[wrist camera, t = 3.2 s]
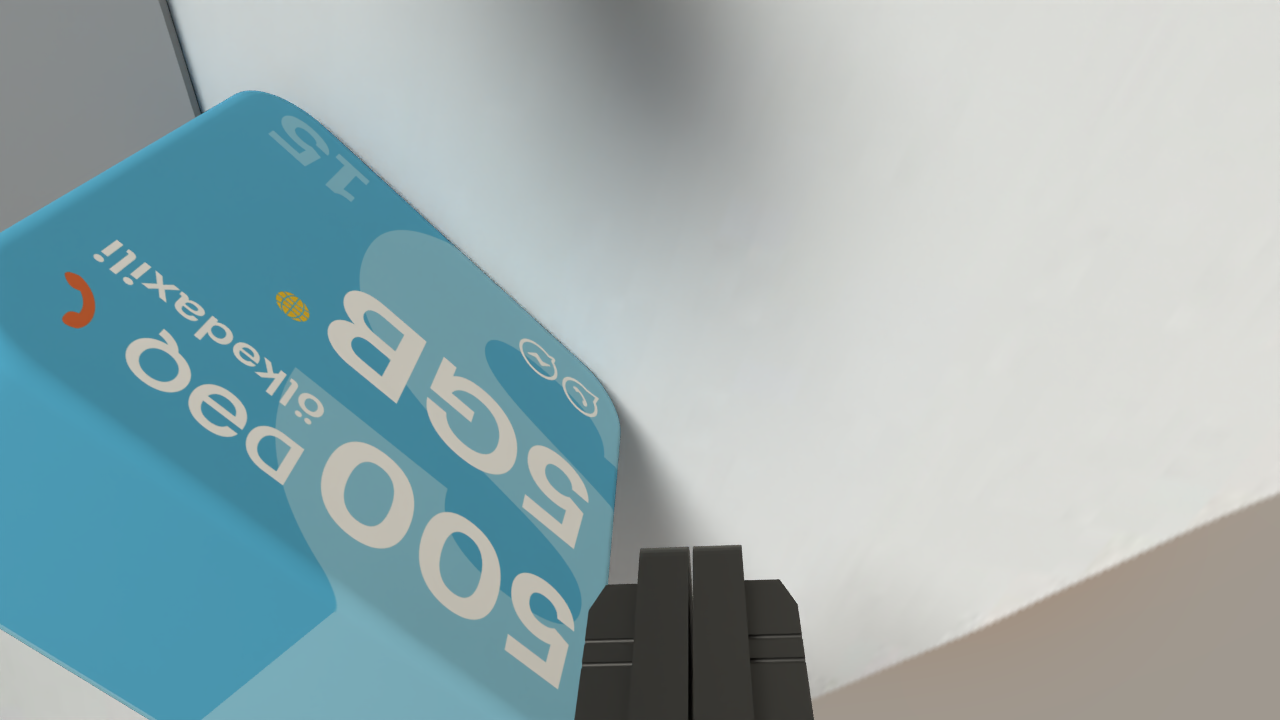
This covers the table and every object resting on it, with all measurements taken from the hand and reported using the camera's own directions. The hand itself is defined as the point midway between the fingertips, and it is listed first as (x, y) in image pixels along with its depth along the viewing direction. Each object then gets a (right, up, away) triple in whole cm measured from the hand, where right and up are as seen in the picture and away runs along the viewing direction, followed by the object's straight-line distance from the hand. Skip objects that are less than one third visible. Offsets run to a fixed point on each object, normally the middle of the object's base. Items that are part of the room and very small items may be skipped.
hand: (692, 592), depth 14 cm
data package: (-7, +5, +11) cm, 14 cm away
